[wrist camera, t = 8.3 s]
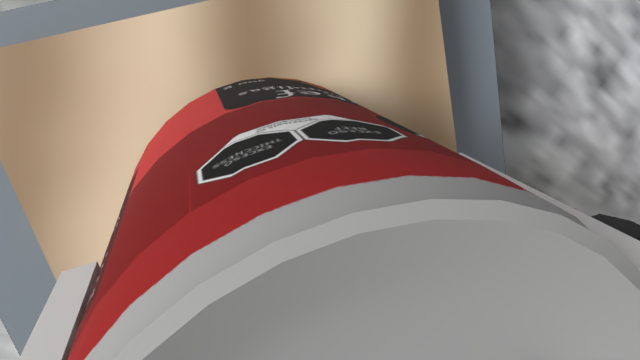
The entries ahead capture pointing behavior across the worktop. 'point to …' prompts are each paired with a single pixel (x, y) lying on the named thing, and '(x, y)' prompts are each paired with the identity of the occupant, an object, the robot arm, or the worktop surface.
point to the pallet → (193, 93)
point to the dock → (122, 3)
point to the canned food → (343, 247)
